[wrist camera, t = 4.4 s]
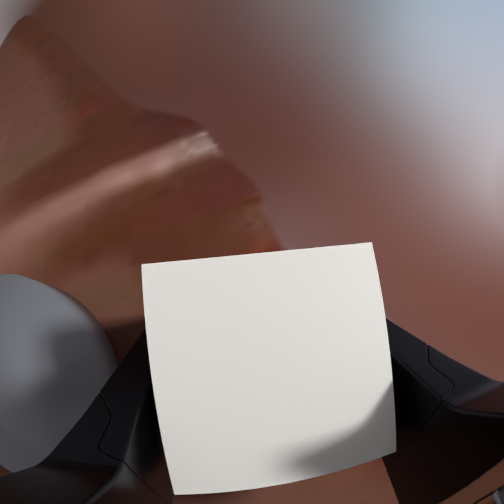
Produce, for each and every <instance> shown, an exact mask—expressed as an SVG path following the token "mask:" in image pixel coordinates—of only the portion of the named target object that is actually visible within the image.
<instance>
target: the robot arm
mask: <svg viewBox="0 0 504 504" xmlns="http://www.w3.org/2000/svg"><path fill="white" fill-rule="evenodd" d="M386 325H387V333H388V340H389V349H390V357H391V367H392V378H393V390H394V404H395V423H396V452H394V453H391V454H388V455H386V456H383V457H382V459H383V462H384V464H385V467H386V470H387V473H388V475H389V478H390V480H391V483H392V486H393V488H394V491H395V494H396V496H397V499H398V502H399V504H504V382H500V381H496V380H493V379H490V378H488V377H486V376H484V375H482V374H480V373H478V372H476V371H474V370H472V369H470V368H468V367H467V366H464V365H463V364H461V363H459V362H457V361H455V360H453V359H451V358H450V357H448V356H446V355H445V354H443V353H441V352H439V351H438V350H436V349H435V348H433V347H431V346H430V345H427V344H426V343H425V342H423V341H421V340H420V339H418V338H417V337H415V336H413V335H412V334H410V333H409V332H407V331H406V330H404V329H402V328H401V327H399V326H397V325H396V324H394V323H392V322H391V321H389V320H388V319H386ZM0 504H172V483H171V479H170V475H169V470H168V466H167V462H166V457H165V452H164V447H163V443H162V437H161V432H160V427H159V421H158V416H157V410H156V404H155V398H154V391H153V384H152V377H151V370H150V362H149V353H148V344H147V335H146V328H145V329H144V330H143V332H142V333H141V334H140V336H139V337H138V338H137V340H136V341H135V343H134V344H133V345H132V347H131V348H130V349H129V351H128V352H127V354H126V355H125V356H124V358H123V359H122V361H121V362H120V363H119V365H118V366H117V368H116V369H115V370H114V372H113V373H112V375H111V376H110V377H109V379H108V380H107V382H106V383H105V385H104V386H103V387H102V389H101V390H100V393H98V394H97V396H96V397H95V399H94V400H93V402H92V403H91V404H90V406H89V407H88V408H87V410H86V411H85V413H84V414H83V415H82V416H81V418H80V419H79V420H78V421H77V422H76V424H75V425H74V426H73V427H72V428H71V430H70V431H69V432H68V433H67V434H66V435H65V437H64V438H63V439H62V440H61V441H60V442H59V444H58V445H57V446H56V447H55V448H54V449H53V450H52V452H51V453H50V454H49V455H48V456H47V457H46V458H45V459H44V460H43V461H41V462H40V463H38V464H36V465H35V466H32V467H29V468H26V469H23V470H20V471H17V472H14V473H11V474H7V475H4V476H1V477H0Z"/></svg>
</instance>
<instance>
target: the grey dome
mask: <svg viewBox="0 0 504 504" xmlns="http://www.w3.org/2000/svg"><path fill="white" fill-rule="evenodd" d="M117 366H118V362H117V359H116V356H115V353H114V350H113V348H112V346H111V343H110V341H109V339H108V337H107V335H106V334H105V332H104V330H103V328H102V327H101V325H100V324H99V323H98V321H97V320H96V318H95V317H94V316H93V315H92V314H91V313H90V311H89V310H88V309H87V308H86V307H85V306H84V305H82V304H81V303H80V302H79V301H78V300H77V299H75V298H74V297H72V296H71V295H69V294H68V293H66V292H64V291H62V290H60V289H57V288H54V287H52V286H49V285H46V284H43V283H41V282H38V281H35V280H33V279H30V278H27V277H24V276H20V275H14V274H3V275H0V465H2V466H3V467H4V468H6V469H7V470H9V471H10V472H12V473H14V472H17V471H20V470H23V469H26V468H29V467H32V466H35V465H36V464H38V463H40V462H41V461H43V460H44V459H45V458H46V457H47V456H48V455H49V454H50V453H51V452H52V450H53V449H54V448H55V447H56V446H57V445H58V444H59V442H60V441H61V440H62V439H63V438H64V437H65V435H66V434H67V433H68V432H69V431H70V430H71V428H72V427H73V426H74V425H75V424H76V422H77V421H78V420H79V419H80V418H81V416H82V415H83V414H84V413H85V411H86V410H87V408H88V407H89V406H90V404H91V403H92V402H93V400H94V399H95V397H96V396H97V394H98V393H100V390H101V389H102V387H103V386H104V385H105V383H106V382H107V380H108V379H109V377H110V376H111V375H112V373H113V372H114V370H115V369H116V368H117Z"/></svg>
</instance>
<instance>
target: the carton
mask: <svg viewBox="0 0 504 504" xmlns="http://www.w3.org/2000/svg"><path fill="white" fill-rule="evenodd" d="M142 284H143V300H144V313H145V324H146V335H147V344H148V353H149V362H150V370H151V377H152V384H153V391H154V398H155V404H156V410H157V416H158V421H159V427H160V432H161V437H162V443H163V447H164V452H165V457H166V462H167V466H168V470H169V475H170V479H171V483H172V487H173V491H174V495H185V494H207V493H220V492H231V491H240V490H248V489H255V488H262V487H269V486H274V485H280V484H285V483H290V482H295V481H300V480H305V479H309V478H313V477H317V476H321V475H325V474H329V473H333V472H336V471H340V470H343V469H347V468H350V467H353V466H357V465H360V464H363V463H366V462H369V461H372V460H375V459H377V458H380V457H383V456H386V455H388V454H391V453H394V452H396V423H395V404H394V390H393V378H392V367H391V357H390V349H389V340H388V333H387V325H386V318H385V312H384V305H383V299H382V294H381V287H380V282H379V276H378V271H377V266H376V261H375V256H374V251H373V246H372V242H370V243H360V244H349V245H339V246H329V247H318V248H309V249H298V250H288V251H277V252H267V253H256V254H246V255H236V256H225V257H215V258H204V259H194V260H183V261H173V262H162V263H152V264H142Z"/></svg>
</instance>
